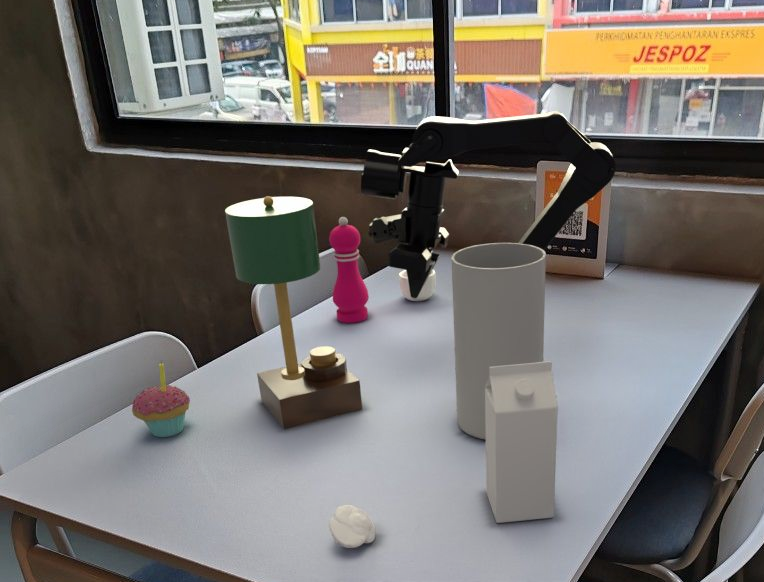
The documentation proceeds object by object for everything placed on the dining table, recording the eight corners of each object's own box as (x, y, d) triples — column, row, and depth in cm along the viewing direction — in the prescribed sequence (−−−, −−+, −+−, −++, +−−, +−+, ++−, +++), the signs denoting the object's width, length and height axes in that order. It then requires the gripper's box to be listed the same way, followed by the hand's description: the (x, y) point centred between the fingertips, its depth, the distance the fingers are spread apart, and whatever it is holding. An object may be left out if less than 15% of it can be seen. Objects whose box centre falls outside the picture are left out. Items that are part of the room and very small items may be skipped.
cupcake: (205, 421, 130) (190, 349, 124) (175, 446, 123) (158, 371, 117) (159, 416, 133) (141, 346, 126) (127, 440, 126) (108, 367, 120)
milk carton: (486, 494, 106) (484, 355, 96) (540, 488, 106) (544, 350, 96) (496, 524, 100) (495, 379, 90) (554, 518, 100) (559, 373, 90)
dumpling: (342, 526, 102) (347, 497, 101) (380, 539, 101) (386, 511, 99) (317, 548, 96) (321, 518, 94) (357, 563, 95) (362, 533, 93)
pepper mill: (365, 324, 164) (356, 221, 153) (330, 323, 165) (319, 221, 155) (374, 312, 170) (365, 212, 159) (340, 311, 171) (329, 212, 161)
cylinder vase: (531, 447, 116) (534, 270, 103) (446, 437, 120) (439, 267, 107) (549, 409, 126) (554, 244, 113) (470, 401, 130) (466, 241, 117)
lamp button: (331, 356, 132) (329, 344, 131) (340, 364, 129) (338, 352, 128) (307, 361, 131) (306, 349, 130) (316, 370, 128) (314, 357, 127)
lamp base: (335, 383, 139) (330, 344, 136) (362, 409, 130) (358, 368, 126) (261, 401, 135) (254, 361, 131) (284, 429, 126) (277, 387, 122)
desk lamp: (317, 354, 132) (295, 183, 119) (344, 380, 123) (324, 196, 109) (244, 371, 128) (213, 195, 115) (267, 398, 119) (236, 210, 105)
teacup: (427, 305, 171) (426, 279, 168) (394, 302, 174) (392, 277, 171) (445, 290, 179) (444, 265, 176) (413, 288, 182) (412, 263, 179)
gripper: (391, 184, 141) (383, 274, 149) (360, 207, 125) (353, 305, 134) (454, 194, 139) (442, 284, 148) (431, 219, 124) (419, 318, 132)
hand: (414, 297), depth 140 cm, fingers closed
